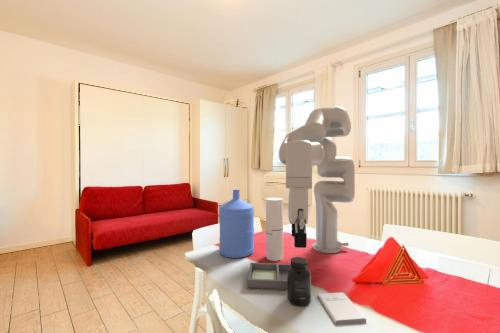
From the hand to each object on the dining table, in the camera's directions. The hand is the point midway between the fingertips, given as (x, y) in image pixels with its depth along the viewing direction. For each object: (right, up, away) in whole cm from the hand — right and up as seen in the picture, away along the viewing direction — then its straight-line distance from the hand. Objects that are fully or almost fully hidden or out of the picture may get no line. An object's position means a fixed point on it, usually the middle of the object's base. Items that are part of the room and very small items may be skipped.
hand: (298, 241), depth 72 cm
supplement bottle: (0, -18, +1) cm, 18 cm away
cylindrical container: (-4, -17, +32) cm, 37 cm away
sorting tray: (-5, -17, +13) cm, 22 cm away
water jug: (-20, -17, +39) cm, 47 cm away
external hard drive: (+11, -19, -3) cm, 22 cm away
